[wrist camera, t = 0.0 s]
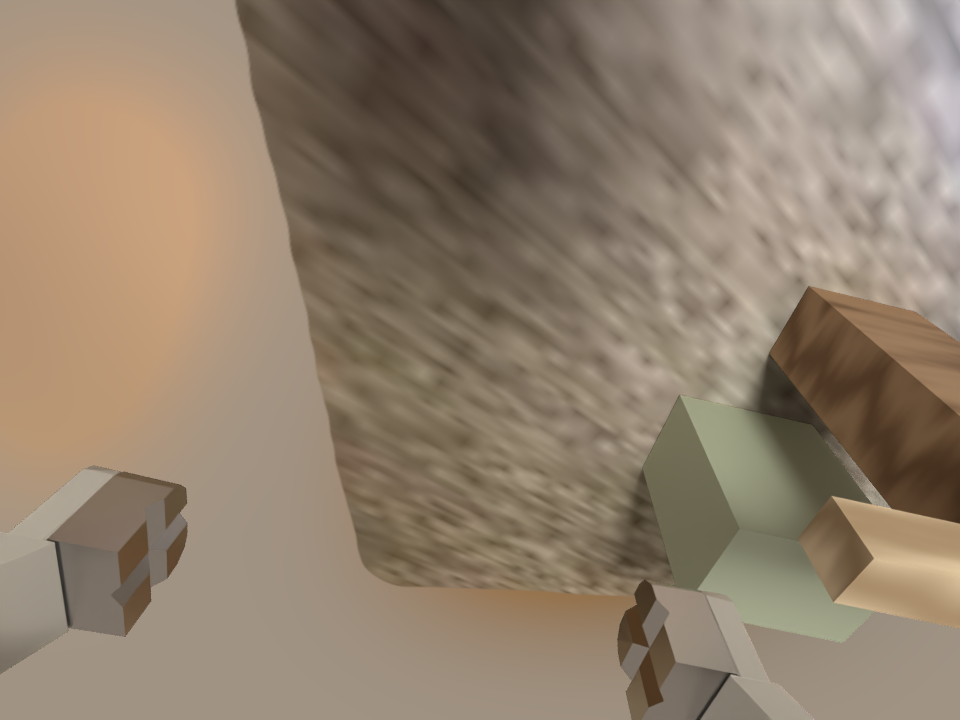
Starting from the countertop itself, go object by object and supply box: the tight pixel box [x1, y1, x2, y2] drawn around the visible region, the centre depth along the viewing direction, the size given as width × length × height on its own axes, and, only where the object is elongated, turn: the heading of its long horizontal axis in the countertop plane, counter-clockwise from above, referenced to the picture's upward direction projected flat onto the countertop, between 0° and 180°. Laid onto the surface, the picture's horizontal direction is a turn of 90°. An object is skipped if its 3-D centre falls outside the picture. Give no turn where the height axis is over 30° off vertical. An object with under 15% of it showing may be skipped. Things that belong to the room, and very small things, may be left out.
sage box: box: [643, 395, 874, 643], centre depth 49 cm, size 10×14×17 cm
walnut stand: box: [769, 286, 960, 524], centre depth 38 cm, size 10×14×26 cm
